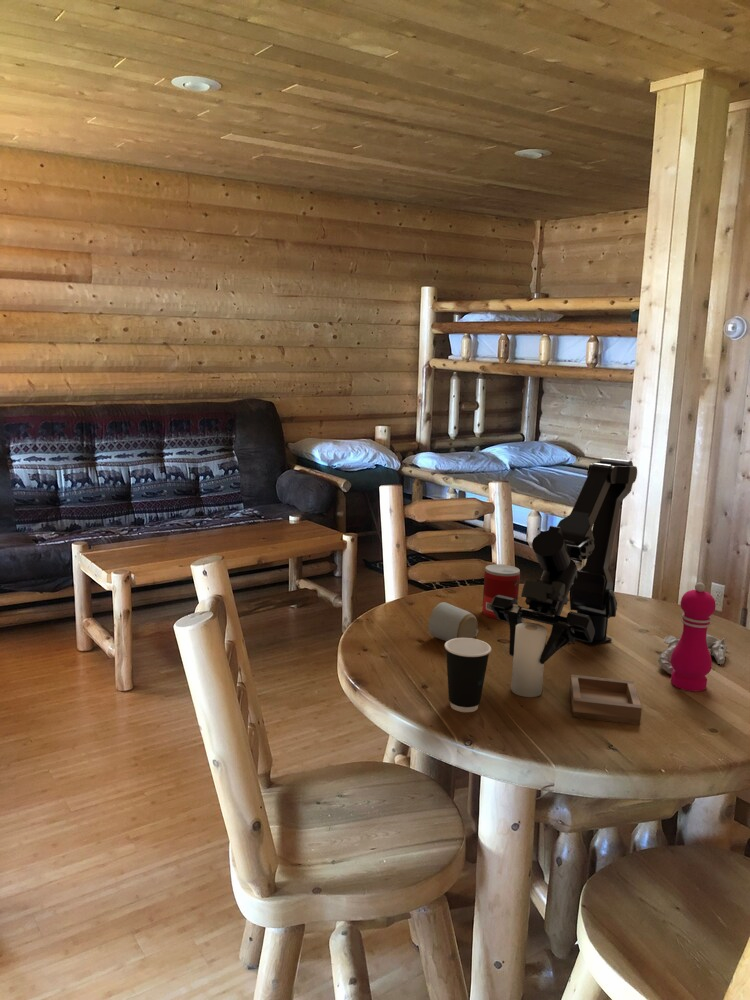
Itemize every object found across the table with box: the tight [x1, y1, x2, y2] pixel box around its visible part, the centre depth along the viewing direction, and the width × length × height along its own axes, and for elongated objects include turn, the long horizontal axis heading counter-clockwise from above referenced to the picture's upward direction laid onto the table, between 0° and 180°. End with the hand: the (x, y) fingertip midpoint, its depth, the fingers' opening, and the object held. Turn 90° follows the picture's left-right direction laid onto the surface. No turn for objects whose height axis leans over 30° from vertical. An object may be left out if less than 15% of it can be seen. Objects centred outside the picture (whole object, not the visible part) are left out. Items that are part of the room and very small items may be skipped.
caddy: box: [569, 674, 643, 726], centre depth 139 cm, size 11×11×3 cm
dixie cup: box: [444, 638, 492, 713], centre depth 137 cm, size 8×8×11 cm
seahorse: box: [658, 633, 728, 675], centre depth 161 cm, size 5×12×20 cm
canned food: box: [482, 563, 521, 620], centre depth 184 cm, size 8×8×11 cm
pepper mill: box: [669, 582, 716, 692], centre depth 148 cm, size 7×7×20 cm
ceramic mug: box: [428, 601, 479, 642], centre depth 168 cm, size 11×8×8 cm
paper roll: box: [510, 622, 548, 698], centre depth 144 cm, size 6×6×12 cm
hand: (525, 658), depth 142 cm, fingers closed on paper roll, 5 cm apart
